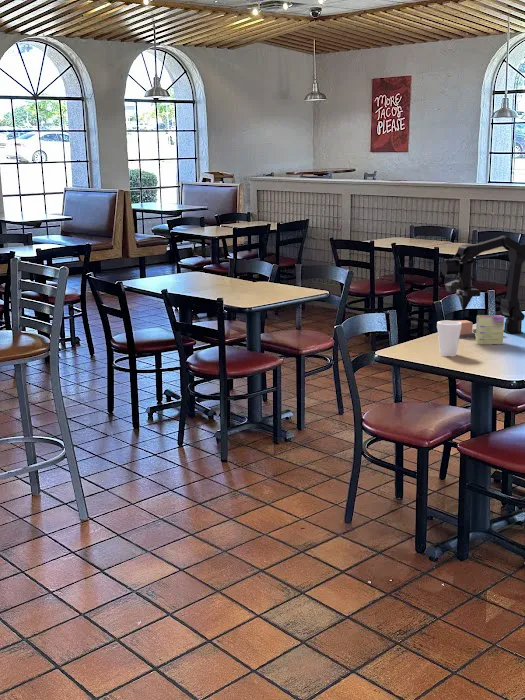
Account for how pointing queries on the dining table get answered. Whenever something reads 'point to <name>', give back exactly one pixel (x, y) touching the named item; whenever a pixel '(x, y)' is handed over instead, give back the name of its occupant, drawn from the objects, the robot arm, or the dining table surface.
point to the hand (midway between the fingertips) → (463, 309)
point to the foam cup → (448, 337)
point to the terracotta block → (466, 327)
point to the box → (489, 329)
